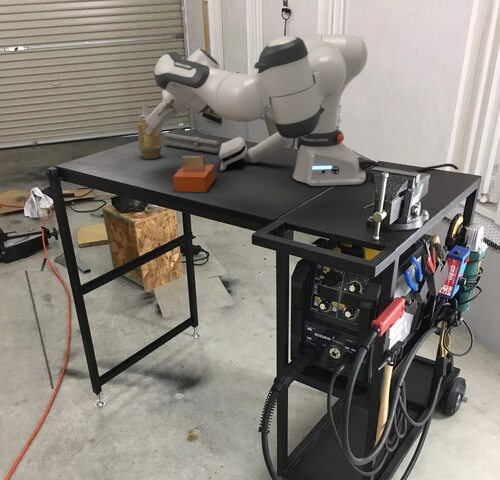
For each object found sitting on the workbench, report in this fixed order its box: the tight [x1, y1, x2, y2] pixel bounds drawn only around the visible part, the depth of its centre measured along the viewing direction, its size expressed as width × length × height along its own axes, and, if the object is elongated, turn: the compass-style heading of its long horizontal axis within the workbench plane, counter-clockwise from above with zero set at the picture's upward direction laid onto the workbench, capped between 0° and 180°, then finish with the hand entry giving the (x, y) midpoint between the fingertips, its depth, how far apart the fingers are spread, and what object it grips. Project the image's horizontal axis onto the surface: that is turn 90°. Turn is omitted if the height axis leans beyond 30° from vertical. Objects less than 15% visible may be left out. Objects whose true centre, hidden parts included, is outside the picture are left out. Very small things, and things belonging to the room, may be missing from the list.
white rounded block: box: [218, 136, 248, 172], centre depth 180 cm, size 17×5×10 cm
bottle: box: [246, 131, 294, 164], centre depth 173 cm, size 5×5×25 cm
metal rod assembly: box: [163, 132, 220, 155], centre depth 199 cm, size 26×3×5 cm, turn 54°
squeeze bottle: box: [137, 103, 162, 160], centre depth 188 cm, size 8×8×18 cm
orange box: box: [172, 164, 216, 193], centre depth 163 cm, size 13×11×5 cm
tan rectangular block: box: [181, 154, 206, 171], centre depth 161 cm, size 6×2×4 cm, turn 80°
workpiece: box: [142, 117, 164, 148], centre depth 170 cm, size 5×5×8 cm
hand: (150, 131), depth 170 cm, fingers closed on workpiece, 4 cm apart
